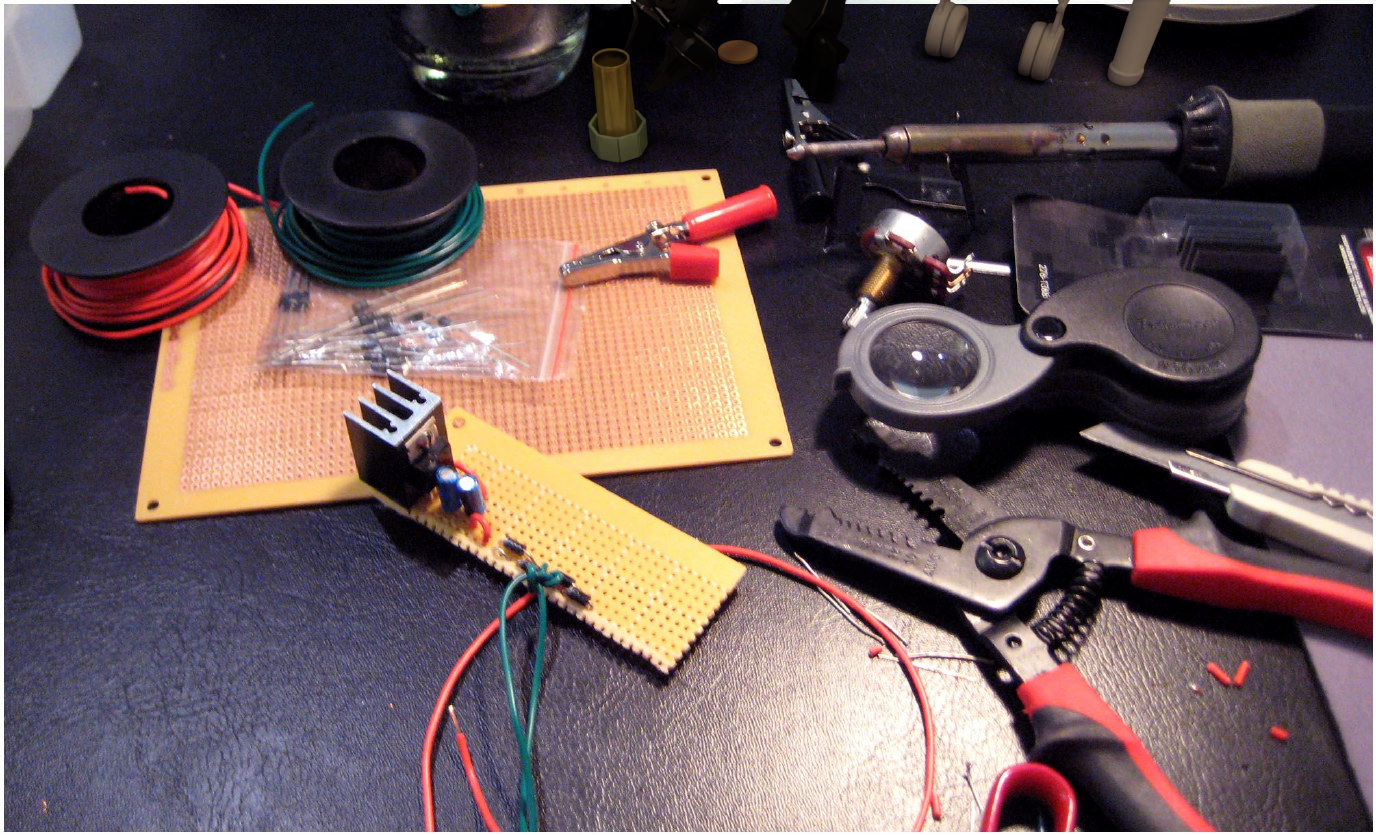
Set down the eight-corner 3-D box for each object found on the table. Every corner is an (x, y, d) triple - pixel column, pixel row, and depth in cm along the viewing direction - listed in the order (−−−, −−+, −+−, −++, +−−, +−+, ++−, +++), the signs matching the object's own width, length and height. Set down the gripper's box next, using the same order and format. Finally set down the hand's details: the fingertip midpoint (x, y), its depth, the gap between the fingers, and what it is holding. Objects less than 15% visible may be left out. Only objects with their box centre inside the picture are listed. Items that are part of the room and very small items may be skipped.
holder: (653, 135, 141) (652, 112, 138) (634, 165, 136) (632, 142, 133) (604, 126, 142) (602, 103, 139) (584, 156, 138) (581, 133, 135)
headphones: (919, 63, 151) (941, -58, 136) (935, 39, 156) (958, -81, 141) (1042, 92, 145) (1079, -32, 130) (1055, 66, 150) (1092, -57, 135)
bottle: (1136, 69, 148) (1199, -96, 129) (1143, 87, 145) (1208, -80, 126) (1103, 68, 149) (1160, -96, 129) (1109, 86, 146) (1168, -80, 126)
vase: (638, 157, 137) (631, 69, 126) (597, 158, 137) (586, 70, 126) (640, 133, 141) (633, 45, 130) (600, 134, 141) (590, 46, 130)
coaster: (762, 46, 156) (762, 43, 155) (751, 66, 152) (751, 63, 152) (724, 41, 157) (724, 37, 157) (713, 61, 154) (713, 57, 153)
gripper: (638, -81, 126) (571, 16, 131) (695, -23, 115) (620, 80, 121) (692, -35, 134) (627, 55, 139) (750, 24, 123) (677, 118, 129)
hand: (636, 75), depth 132 cm, fingers open, 9 cm apart
